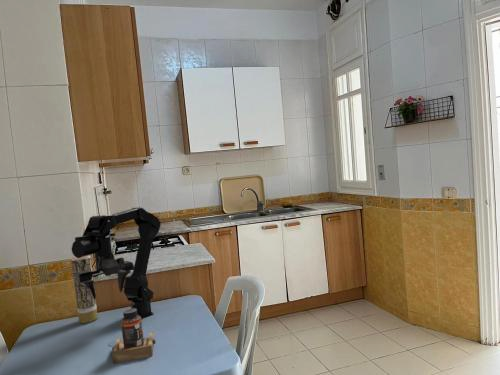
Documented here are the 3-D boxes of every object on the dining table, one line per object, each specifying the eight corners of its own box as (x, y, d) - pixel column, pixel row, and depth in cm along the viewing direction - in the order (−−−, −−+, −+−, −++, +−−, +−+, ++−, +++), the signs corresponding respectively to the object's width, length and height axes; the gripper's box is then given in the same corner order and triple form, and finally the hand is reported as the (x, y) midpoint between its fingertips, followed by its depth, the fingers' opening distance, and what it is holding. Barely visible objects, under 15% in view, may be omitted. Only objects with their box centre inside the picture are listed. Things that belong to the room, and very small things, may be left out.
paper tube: (90, 323, 143) (83, 258, 142) (75, 324, 144) (67, 259, 143) (101, 316, 149) (94, 254, 148) (86, 317, 151) (78, 255, 150)
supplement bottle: (146, 347, 114) (141, 310, 113) (125, 353, 111) (121, 316, 111) (142, 340, 119) (138, 305, 119) (122, 346, 117) (118, 310, 116)
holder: (115, 347, 119) (114, 338, 119) (156, 339, 122) (155, 330, 122) (110, 363, 108) (109, 353, 108) (155, 355, 111) (154, 345, 111)
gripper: (82, 259, 119) (87, 308, 120) (138, 247, 131) (142, 291, 132) (72, 256, 128) (77, 301, 128) (125, 245, 140) (130, 286, 140)
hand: (108, 295), depth 132 cm, fingers open, 9 cm apart
